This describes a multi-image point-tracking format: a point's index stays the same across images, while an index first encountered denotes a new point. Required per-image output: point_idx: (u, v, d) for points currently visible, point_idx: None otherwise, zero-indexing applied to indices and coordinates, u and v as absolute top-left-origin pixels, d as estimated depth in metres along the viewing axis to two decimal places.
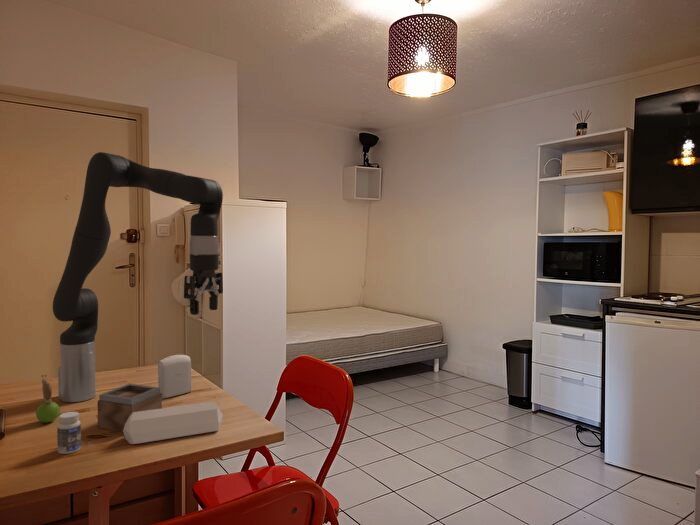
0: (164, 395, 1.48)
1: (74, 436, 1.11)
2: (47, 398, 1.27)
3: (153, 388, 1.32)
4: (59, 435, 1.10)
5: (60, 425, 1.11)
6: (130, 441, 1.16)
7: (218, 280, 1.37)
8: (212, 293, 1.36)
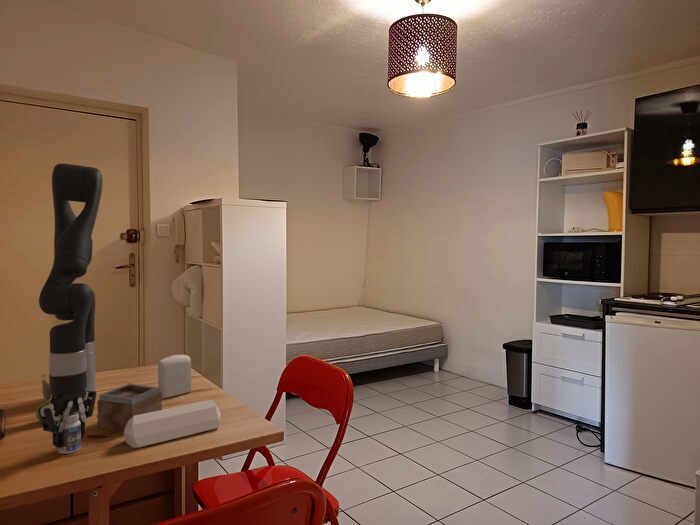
0: (164, 395, 1.48)
1: (74, 436, 1.11)
2: (47, 398, 1.27)
3: (153, 388, 1.32)
4: None
5: None
6: (133, 445, 1.14)
7: (89, 400, 1.17)
8: None
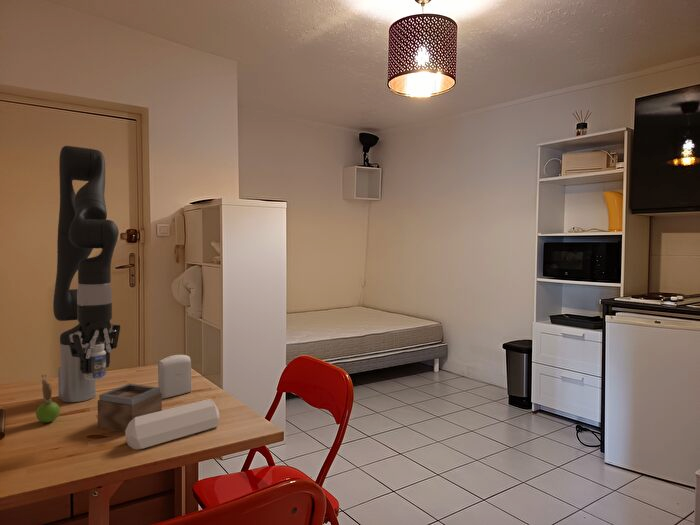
0: (164, 395, 1.48)
1: (100, 363, 1.18)
2: (47, 398, 1.27)
3: (153, 388, 1.32)
4: None
5: None
6: (136, 446, 1.13)
7: (114, 333, 1.23)
8: None
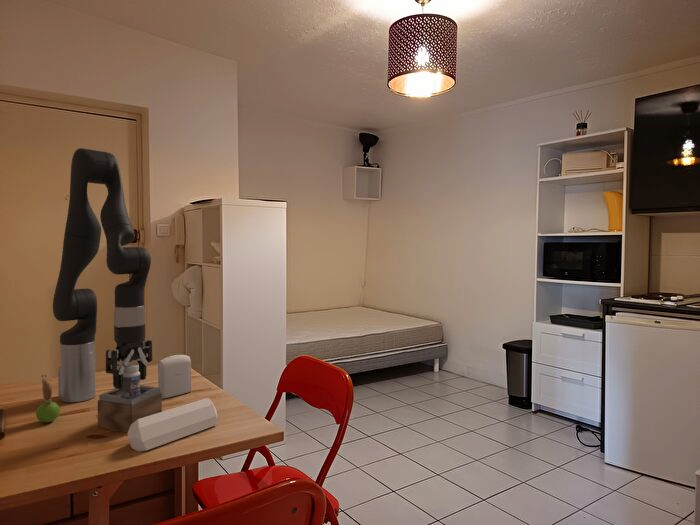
0: (164, 395, 1.48)
1: (135, 383, 1.28)
2: (47, 398, 1.27)
3: (153, 388, 1.32)
4: (123, 382, 1.27)
5: (123, 374, 1.27)
6: (140, 448, 1.12)
7: (147, 348, 1.34)
8: (140, 362, 1.33)
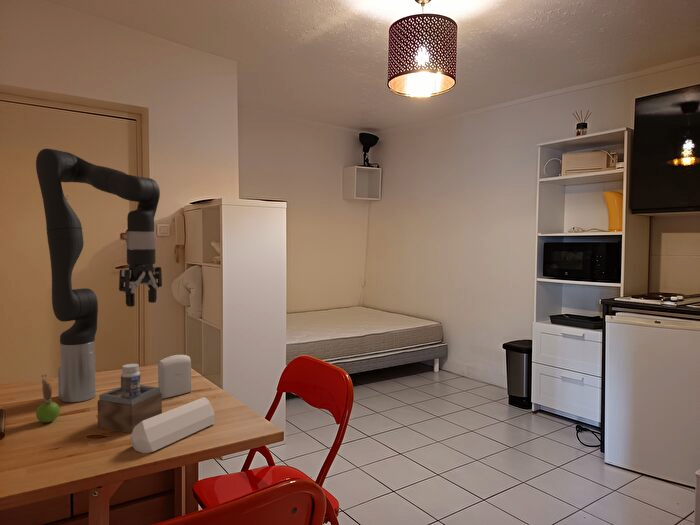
0: (164, 395, 1.48)
1: (135, 383, 1.28)
2: (47, 398, 1.27)
3: (153, 388, 1.32)
4: (123, 382, 1.27)
5: (123, 374, 1.27)
6: (146, 450, 1.12)
7: (157, 274, 1.44)
8: (151, 286, 1.43)
